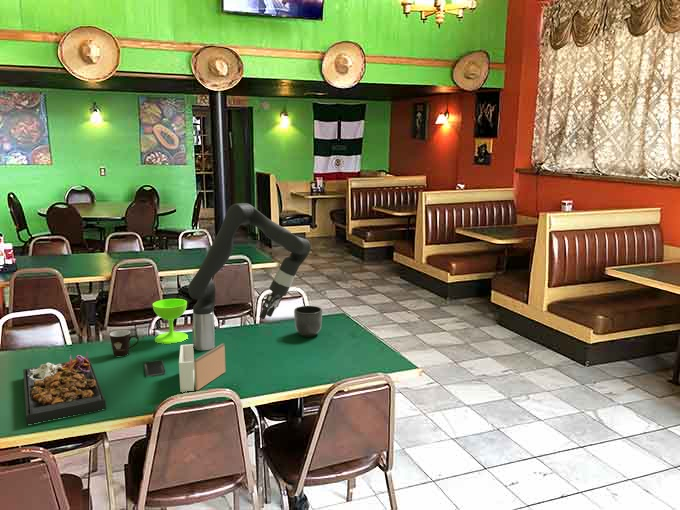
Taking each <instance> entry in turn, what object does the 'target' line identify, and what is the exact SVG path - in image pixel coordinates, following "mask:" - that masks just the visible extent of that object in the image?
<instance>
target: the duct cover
mask: <svg viewBox="0 0 680 510" xmlns="http://www.w3.org/2000/svg"><path fill="white" fill-rule="evenodd" d="M225 345H226V344H225V343H223V342H222V343H221V344H219V345H217V346H215V347H214V348H213V349H210V350H208V351H206V353H203V354H202V355H200V356H198V357H197V358H194V388H195V390H196V391H199V390H201V389H202V388H203V387H205V386H207V385H208V384H209V383H210V382H212V381H214V380H215V379H217V378H218V377H220V376H222V375H223V374H224V373H226V349H225V347H226V346H225Z"/></svg>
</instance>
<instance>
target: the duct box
mask: <svg viewBox="0 0 680 510" xmlns="http://www.w3.org/2000/svg"><path fill="white" fill-rule="evenodd" d="M179 348H180V349H179V358H178V368H179V369H178V371H179V372H178V373H179V388H180V392H182V393H183V392H185V391H186V392H185V393H188V392H187V391H194V392H195V366H194V360H195V352H194V348H193V343H192V344H191V343H190V344H180V346H179ZM182 393H181V394H182ZM183 394H184V393H183Z"/></svg>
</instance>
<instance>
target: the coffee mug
mask: <svg viewBox="0 0 680 510" xmlns="http://www.w3.org/2000/svg"><path fill="white" fill-rule="evenodd" d="M132 338H136V339H137V341H136V342H135V343H134V344H132V345H131V346H130V344H131V343H130V341H131V339H132ZM109 339H110V343H111V349H112V353H113V356H114V357H115V356H124V357H126V356H125V355H127V354H129V355H130V349H131V348H133V347H135V346H136V345H137V344H138V343H139V341H140V340H139V337H138V336H137V335H131V331H130V330H127V329H119V330H115V331H111V332H110V333H109ZM127 356H128V355H127Z"/></svg>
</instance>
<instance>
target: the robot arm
mask: <svg viewBox="0 0 680 510" xmlns="http://www.w3.org/2000/svg"><path fill="white" fill-rule="evenodd" d="M242 225H243V226H244V225H250V226H253V227H256V228H258V229H259V230H261V231H262V233H263V234H264V235H265V236H266V237H267V238H268V239H269V240H270V241H272V242H274V243H276V244H278V245H280V246H281V247H283V248H284V249H285V250H286V251H288V252H289V253H290V255H289V256H287V257H284V258H283V261H282V262H281V265H280V266H279V269H277V271H276V274H275V275H274V277H273V279H272V281H271V283H270V285H269V290H270V291H271V294H268V295H267V296H266V298H265V299H264V302H263V304H262V305H261V308H262V310H261V312H260V314H259V318H260V319H262V320H265V319H266V316H267V317H269V318H270V317H272V316H273V313H274V312H275V310H277V308H278V307H279V305H280V303H281V301H282V299H283V298H284V297H286V296H287V294H288V291H289V290H290V288H291V286H292V284H293V281H294V279H295V276H296V274H297V272H298V270H299V268H300V266H301V265H302V264H303V263H304V261H305V260H306V258H307V257H308V255H309V254H310V252H311V247H312V244H311V242H310V241H309V240H308V239H306V238H303V237H300V236H297V235H295V234H294V233H292V232H291V230H289V229H287V228H285V227H283V226H281V224H278V223H276V222H275V221H272V219H270V218H268V217H267V216H266V215H264V214H263V213H261V211H259V209H257V208H255V206H253V205H252V204H250V203H248V202H241V203H233V204H232V205H230V206H229V207H228V209H227V212H226V214H225V216H224V219H223V222H222V224H221V226H220V229H219V231H218V233H217V234H216V236H215V238H214V240H213V242H212V244H211V246H210V247H209V249H208V252H207V254H206V256H205V257H204V259H203V261H202V263H201V265H200V266H199V269H198V271H196V274H195V275H194V277H193V278H192V279H191V281H190V283H189V284H188V290H187V291H188V295H189V297H190V298H191V299H192V300H197V301H196V303H195V304H194V305H193V306H192V313H193V314H192V318H193V327H191V328H192V329H191V335H192V344H193V347H194V348H193V349H195V350H196V349H197V351H210V350H212V349H214V348H215V347H216V342H215V341H216V340H215V338H216V337H215V333H216V332H215V313H214V309H215V305H216V285H215V281H214V280H213V278H214V277H215V275H217V274H218V273H219V271H220V270H222V269H223V267H224V266H225V265H226V263H227V262H228V261H229V259H230V258H231V255H232V253H233V250H234V236H235V235H236V233H237V231H238V229H239V228H240V227H241V226H242Z"/></svg>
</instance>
